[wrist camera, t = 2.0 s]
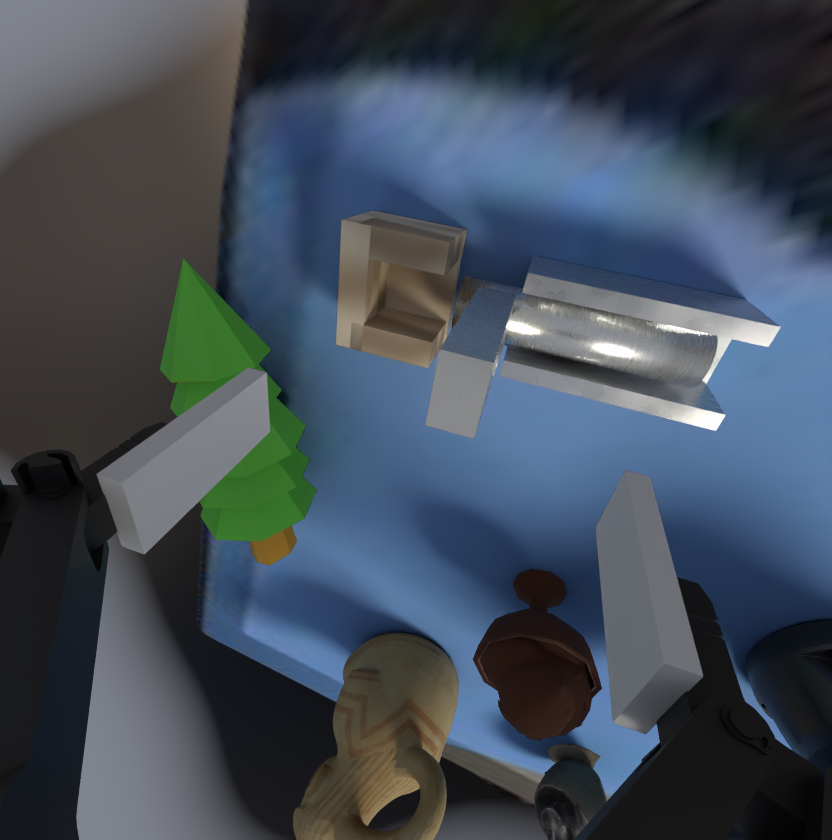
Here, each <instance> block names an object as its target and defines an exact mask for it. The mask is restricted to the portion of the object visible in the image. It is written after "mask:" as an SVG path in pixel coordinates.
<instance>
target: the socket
mask: <svg viewBox="0 0 832 840" xmlns="http://www.w3.org/2000/svg"><path fill="white" fill-rule="evenodd" d="M466 235H467V229H462V228H457V227H452V226H447V225H442V224H437V223H432V222H427V221H422V220H417V219H413V218H408V217H403V216H398V215H393V214H388V213H383V212H378V211H373V210H372V211H369V212H366V213H362V214H359V215H355V216H352V217H349V218H345V219H342V220H341V243H340V266H339V290H338V313H337V336H336V345H339V346H343V347H347V348H351V349H355V350H359V351H363V352H366V353H370V354H374V355H378V356H382V357H386V358H390V359H394V360H398V361H401V362H405V363H409V364H413V365H417V366H421V367H425V368H428V367H429V366H430V364H431V363H432V361H433V359H434V358H435V356H436V355H437V353H438V352H439V350H440V348H441V346H442V345H443V343H444V341H445V340H446V338H447V335H448V329H449V324H450V319H451V314H452V308H453V303H454V298H455V293H456V287H457V282H458V277H459V272H460V266H461V261H462V256H463V251H464V245H465V240H466Z"/></svg>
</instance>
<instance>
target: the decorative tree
mask: <svg viewBox="0 0 832 840" xmlns="http://www.w3.org/2000/svg"><path fill="white" fill-rule="evenodd" d="M270 351H271V349H270V348H269V347H268V346H267V344H266V343H265V342H264V341H263V340H262V339H261V338H260V337H259V336H258V335H257V334H256V333H255V332H254V331H253V330H252V329H251V328H250V327H249V326H248V325H247V324H246V323H245V322H244V321H243V320H242V319H241V318H240V316H239V315H238V314H237V313H236V312H235V311H234V310H233V309H232V308H231V307H230V306H229V305H228V304H227V303H226V302H225V301H224V300H223V299H222V298H221V297H220V296H219V295H218V294H217V293H216V292H215V291H214V290H213V288H212V287H211V286H210V285H209V284H208V283H207V282H206V281H205V280H204V279H203V278H202V277H201V276H200V275H199V274H198V273H197V272H196V271H195V270H194V269H193V268H192V267H191V266H190V265H189V264H188V263H187V262H186V261H185V259H183V262H182V267H181V271H180V276H179V281H178V286H177V291H176V295H175V300H174V305H173V309H172V314H171V319H170V323H169V328H168V333H167V338H166V342H165V348H164V352H163V357H162V361H161V366H160V370H161V372H162V373H163V374H164V375H165V376H166V377H167V378H168V379H169V380H170V382H172V383H176V382H177V385H176V389H175V392H174V396H173V399H172V403H171V406H170V408H171V409H172V411H173V412H174V413H175V414H176V416H177V417H179V416H180V415H182V414H183V413H184V412H186V411H187V410H189V409H190V408H192V407H193V406H194V405H196V404H197V403H199V402H200V401H201V400H203V399H204V398H206V397H207V396H209V395H210V394H211V393H213V392H214V391H216V390H217V389H219V388H220V387H221V386H223V385H224V384H226V383H227V382H229V381H230V380H231V379H233V378H234V377H236V376H237V375H239V374H240V373H241V372H243V371H244V370H246V369H247V368H252V369H256V370H259V371H263V372H265V370H264V369H263V368H262V367H261V366H260V365H259V363H260V362H261V361H262V360H263V359H264V357H265V356H266V355H267V354H268V353H269V352H270ZM267 386H268V403H269V420H270V432H269V433H268V434H267V435H266V436H265V437H264V438H263V439H262V440H261V441H260V442H259V443H258V444H257V445H256V446H255V447H254V448H253V449H252V450H251V451H250V452H249V453H248V454H247V455H246V456H245V457H244V458H243V459H242V460H241V461H240V462H239V463H238V464H237V465H236V466H235V467H234V468H233V469H232V470H230V471H229V472H228V473H227V474H226V475H225V476H224V477H223V478H222V479H221V480H220V481H219V482H218V483H217V484H216V485H215V486H214V487H213V488H212V489H211V490H210V491H209V492H208V493H207V494H206V495H205V496H204V497H203V498H202V499H201V500H200V501H199V502H200V503H201V505H202V506H203V510H202V513H201V517H202V519H203V521H204V522H205V524H206V525H207V527H208V528H209V530H210V532H211V533H212V535H213V536H214V538H215V539H216V540H237V541H249V544H250V548H251V552H252V554H253V556H254V557H255V559H256V560H257V562H258V563H262V564H267V565H272V564H273V563H275V562H277V561H278V560H280V559H282V558H283V557H285V556H286V555H288V554H290V553H291V551H292V549H293V547H294V546H295V544H296V542H297V540H296V537H295V534H294V532H293V529H292V526H291V525H293V524H295V523H297V522H299V521H301V520H303V519H305V516H306V514H307V512H308V509H309V507H310V504H311V502H312V500H313V497H314V495H315V493H316V490H317V489H316V488H314V487H313V486H312V485H311V484H310V483H309V482H308V481H307V480H306V479H305V478H304V477H303V476H302V475H303V473H304V471H305V469H306V467H307V465H308V463H309V461H310V459H309V458H308V457H307V456H306V455H304V454H303V453H302V452H301V451H300V450H299V449H297V448H296V446H297V444H298V442H299V440H300V438H301V436H302V434H303V431H304V429H305V427H306V425H305V424H304V423H303V422H302V421H301V420H300V419H298V418H297V417H296V416H295V415H294V414H293V413H292V412H291V411H290V410H289V409H288V408H287V407H286V406H285V405H284V404H283V403H281V402H280V401H279V400H278V399H277V398H276V397H277V396H278V395H279V393H280V392H281V391H282V390H281V388H280V387H279V386H278V385H277V384H276V383H275V382H274V381H273V379H272V378H271V377H270V376H269V375H268V374H267Z"/></svg>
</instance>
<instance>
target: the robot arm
mask: <svg viewBox="0 0 832 840" xmlns="http://www.w3.org/2000/svg"><path fill="white" fill-rule="evenodd" d="M269 432H270V420H269V403H268V386H267V372H263V371H259V370H256V369H252V368H247V369H246V370H244V371H243V372H241V373H240V374H239V375H237V376H236V377H234V378H233V379H231V380H230V381H229V382H227V383H226V384H224V385H223V386H221V387H220V388H219V389H217V390H216V391H214V392H213V393H211V394H210V395H209V396H207V397H206V398H204V399H203V400H201V401H200V402H199V403H197V404H196V405H194V406H193V407H192V408H190V409H189V410H187V411H186V412H184V413H183V414H182V415H180V416H179V417H177V418H176V419H174V420H173V421H172V422H170V423H169V424H166V423H163V422H161V423H158V424H155V425H153V426H150V427H147V428H144V429H143V430H141V431H140V432H138V433H137V434H135V435H134V436H132V437H131V438H130V440H126V441H125V442H124V443H122V444H121V445H119V447H118V448H115V449H113V450H112V451H110V452H109V453H107V454H106V455H104V456H103V457H101V458H100V459H98V460H97V461H95V462H94V463H92V464H91V465H89V466H88V467H86V468H85V469H83V470H82V471H80V468H79V465H78V463H77V460H76V457H75V456H74V455H73V454H72V453H70V452H69V451H64V450H47V451H42V452H38V453H35V454H32V455H30V456H27V457H25V458H24V459H22V460H21V461H19V462H18V463H16V464H15V466H14V467H13V468H12V469H11V472H12V474H13V476H14V478H15V480H16V482H17V483H18V485H3V484H2V482H1V480H0V840H79V836H78V830H77V822H76V813H77V803H78V795H79V787H80V779H81V770H82V763H83V755H84V746H85V738H86V731H87V723H88V722H87V721H88V715H89V706H90V698H91V690H92V682H93V674H94V666H95V658H96V650H97V642H98V634H99V626H100V618H101V610H102V602H103V594H104V586H105V578H106V569H107V561H108V553H109V547H108V542H107V540H108V539H110V538H111V537H112V536H113V535H114V534H115V533H116V532H117V534H118V537H119V540H120V542H121V545H122V546H123V547H126V548H128V549H131V550H134V551H137V552H140V553H142V554H145V553H146V552H147V551H148V550H149V549H150V548H152V547H153V546H154V544H156V543H157V542H158V541H159V540H160V539H161V538H162V537H163V536H164V535H165V534H166V533H167V532H168V531H169V530H170V529H171V528H172V527H173V526H174V525H175V524H176V523H177V522H178V521H179V520H180V519H181V518H182V517H183V516H184V515H185V514H186V513H187V512H188V511H189V510H190V509H192V508H193V507H194V506H195V505H196V504H197V503H198V502H199V501H200V500H201V499H202V498H203V497H204V496H205V495H206V494H207V493H208V492H209V491H210V490H211V489H212V488H213V487H214V486H215V485H216V484H217V483H218V482H219V481H220V480H221V479H222V478H223V477H224V476H225V475H226V474H227V473H228V472H229V471H230V470H232V469H233V468H234V467H235V466H236V465H237V464H238V463H239V462H240V461H241V460H242V459H243V458H244V457H245V456H246V455H247V454H248V453H249V452H250V451H251V450H252V449H253V448H254V447H255V446H256V445H257V444H258V443H259V442H260V441H261V440H262V439H263V438H264V437H265V436H266V435H267V434H268V433H269ZM595 528H596V539H597V550H598V562H599V573H600V584H601V595H602V606H603V617H604V629H605V640H606V651H607V662H608V673H609V685H610V696H611V707H612V718H613V723H616V724H618V725H621V726H624V727H627V728H630V729H632V730H635V731H638V732H641V733H643V734H647V733H648V732H649V731H650V730H651V729H652V728H653V727H654V726H655V725H656V724H657V727H658V733H659V739H660V743H659V744H658V745H657V746H656V747H655V748H654V749H652V750H651V751H650V752H649V753H648V754H647V755H646V756H645V757H644V758H643V759H642V762H641V764H640V765H639V766H638V767H637V768H636V769H635V770H634V772H633V773H632V774H631V775H630V776H629V777H628V778H627V779H626V781H625V782H624V783H623V784H622V785H621V786H620V787H619V788H618V790H617V791H616V792H615V793H614V794H613V795H612V796H611V798H610V799H609V800H608V801H607V802H606V803H605V804H604V805H603V807H602V808H601V809H600V810H599V811H598V812H597V813H596V815H595V816H594V817H593V818H592V819H591V820H590V821H589V822H588V824H587V825H586V826H585V827H584V828H583V829H582V830H581V832H580V833H579V834H578V835H577V836H576V837H575V838H574V839H573V840H832V620H825V621H816V622H810V623H804V624H800V625H796V626H792V627H789V628H786V629H783V630H781V631H778V632H776V633H774V634H772V635H770V636H768V637H767V638H765V639H763V640H762V641H761V642H759V643H758V644H757V645H756V646H755V647H754V648H753V649H752V651H751V652H750V654H749V656H748V658H747V661H746V673H747V676H748V679H749V682H750V685H751V688H752V690H753V693H754V696H755V698H756V700H757V701H758V703H759V705H760V706H761V707H762V709H763V710H764V711H765V713H766V714H767V715H768V716H769V717H770V718H772V719H773V720H774V722H775V723H776V725H777V727H778V729H779V730H780V732H781V734H782V735H783V737H784V738H785V740H786V741H787V743H788V744H789V746H790V747H791V748H792V750H793V751H792V750H791V749H789V748H787V747H786V746H784V745H783V744H782V743H780V742H779V741H778V740H776V739H775V737H774V734H773V733H772V731H771V729H770V727H769V726H768V724H767V722H766V721H765V720H764V719H763V718H762V716H761V715H760V714H759V713H758V712H757V711H756V710H755V709H754V708H753V707H752V706H750V705H749V704H748V703H746V702H745V700H744V698H743V695H742V692H741V689H740V686H739V683H738V680H737V677H736V674H735V671H734V668H733V665H732V662H731V659H730V656H729V653H728V650H727V647H726V644H725V641H724V640H723V639H722V638H723V635H722V632H721V629H720V626H719V625H718V624H717V622H718V620H717V617H716V613H715V610H714V607H713V604H712V602H711V601H710V599H709V598H708V596H707V595H706V594H705V592H704V591H703V589H702V588H701V587H700V585H699V584H697V583H694V582H691V581H687V580H684V579H681V578H677V576H676V572H675V569H674V565H673V561H672V557H671V554H670V550H669V546H668V542H667V539H666V535H665V531H664V528H663V524H662V520H661V516H660V513H659V509H658V505H657V502H656V498H655V494H654V490H653V487H652V483H651V479H650V477H649V476H646V475H642V474H638V473H634V472H631V471H627V470H626V471H625V473H624V474H623V476H622V478H621V480H620V482H619V484H618V486H617V488H616V490H615V491H614V493H613V495H612V497H611V499H610V501H609V503H608V505H607V507H606V509H605V510H604V512H603V514H602V516H601V518H600V520H599V522H598V524H597V526H596V527H595Z"/></svg>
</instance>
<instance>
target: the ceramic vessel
mask: <svg viewBox="0 0 832 840" xmlns="http://www.w3.org/2000/svg"><path fill="white" fill-rule="evenodd" d="M343 679H344V682H345V683H344V685H343V687H342V689H341V692H340V694H339V697H338V699H337V702H336V706H335V710H334V716H333V729H334V734H335V738H336V741H337V746H338V755H337V756H335V757H331V758H329V759H327V760H326V761H325V762H324V763H323V764H322V765H321V766H320V767H319V768H318V769H317V771H316V772H315V773H314V775H313V777H312V779H311V781H310V784H309V786H308V788H307V790H306V791H305V797H304V798H303V801H302V804H301V806H300V807H298V808H297V809H296V810H295V812H294V819H293V826H294V831H295V835H296V838H297V840H433V839H434V837H435V835H436V834H437V832H438V829H439V827H440V824H441V821H442V819H443V815H444V811H445V807H446V795H447V794H446V784H445V778H444V775H443V772H442V769H441V767H440V765H439V761H440V758H441V754H442V751H443V748H444V745H445V743H446V740H447V738H448V735H449V732H450V729H451V726H452V723H453V719H454V715H455V711H456V706H457V699H458V689H459V684H458V676H457V672H456V669H455V667H454V664H453V662H452V661H451V659H450V658H449V657H448V656H447V655H446V653H445V652H444V651H443V650H441V649H440V648H439V647H437V646H436V645H435V644H433V643H432V642H430V641H429V640H427V639H424V638H422V637H420V636H417V635H413V634H409V633H388V634H383V635H379V636H376V637H374V638H372V639H370V640H368V641H366V642H365V643H363V644H362V645H361V646H359V647H358V648H357V649H356V650H355V651H354V652H353V653H352V654H351V655H350V657H349V658H348V659H347V661H346V663H345V666H344V670H343ZM419 788H420V791H421V799H420V802H419V806H418V808H417V810H416V812H415V814H414V816H413V817H412V818H411V820H410V821H409V822H407V823H406V824H405V825H403V826H402V827H399V828H396V829H394V830H390V831H374V830H371V829H370V828H369V827H368V824H369V822H370V821H371V819H372V818H373V817H374V816H375V814H376V813H377V812H378V811H379V810H380V809H382V808H383V807H384V806H385V805H386V804H388V803H389V802H390V801H391V800H393V799H395V798H396V797H398V796H400V795H404V794H408V793H411V792H413V791H415V790H417V789H419Z"/></svg>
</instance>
